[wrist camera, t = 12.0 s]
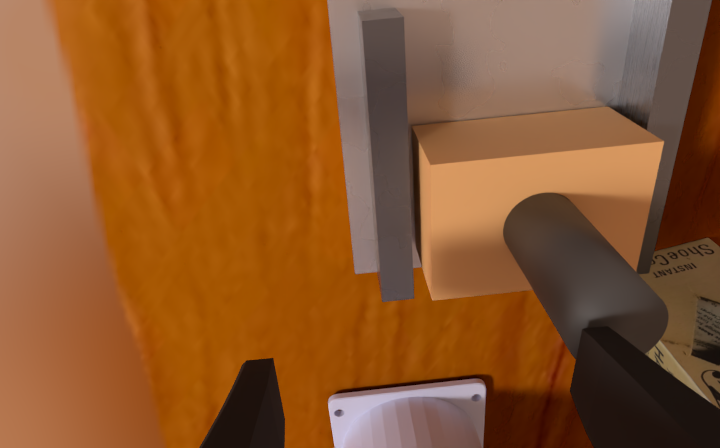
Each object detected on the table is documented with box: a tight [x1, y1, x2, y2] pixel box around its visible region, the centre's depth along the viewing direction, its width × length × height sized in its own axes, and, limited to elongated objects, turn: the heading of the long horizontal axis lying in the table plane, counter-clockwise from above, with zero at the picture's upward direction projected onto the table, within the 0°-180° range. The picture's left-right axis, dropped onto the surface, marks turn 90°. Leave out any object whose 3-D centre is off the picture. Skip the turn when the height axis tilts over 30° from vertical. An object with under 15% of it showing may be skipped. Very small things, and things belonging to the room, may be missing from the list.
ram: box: [412, 106, 669, 359], centre depth 16 cm, size 5×7×8 cm
